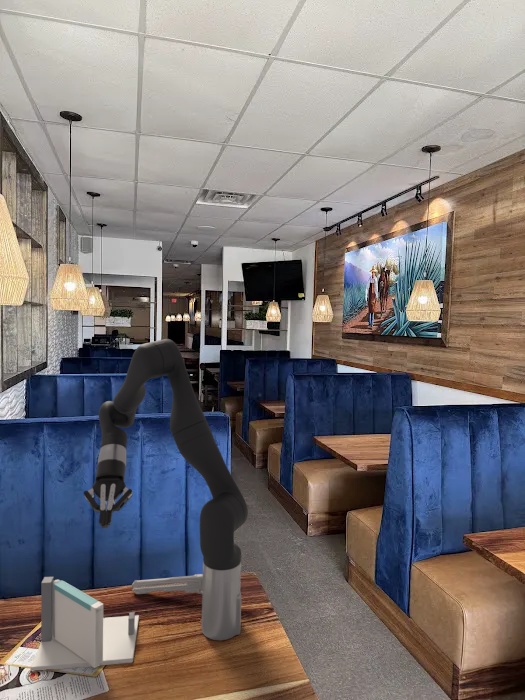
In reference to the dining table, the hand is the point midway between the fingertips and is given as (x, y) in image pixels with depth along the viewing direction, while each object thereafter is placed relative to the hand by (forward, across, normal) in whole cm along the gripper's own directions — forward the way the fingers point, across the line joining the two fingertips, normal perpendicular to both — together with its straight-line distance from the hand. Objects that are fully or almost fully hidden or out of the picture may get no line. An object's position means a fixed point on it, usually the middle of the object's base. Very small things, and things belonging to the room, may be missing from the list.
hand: (104, 526), depth 119 cm
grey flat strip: (+14, +21, +18) cm, 31 cm away
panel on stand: (+24, -2, +7) cm, 25 cm away
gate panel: (+26, -4, +4) cm, 26 cm away
